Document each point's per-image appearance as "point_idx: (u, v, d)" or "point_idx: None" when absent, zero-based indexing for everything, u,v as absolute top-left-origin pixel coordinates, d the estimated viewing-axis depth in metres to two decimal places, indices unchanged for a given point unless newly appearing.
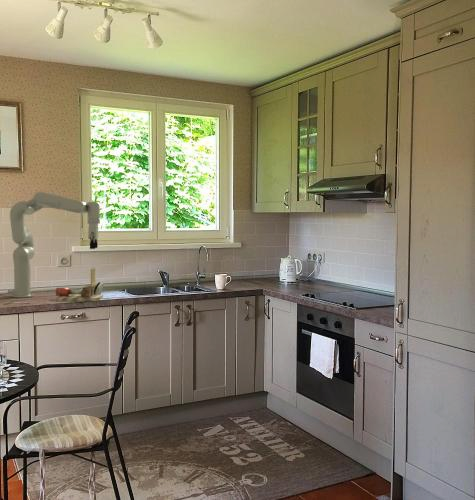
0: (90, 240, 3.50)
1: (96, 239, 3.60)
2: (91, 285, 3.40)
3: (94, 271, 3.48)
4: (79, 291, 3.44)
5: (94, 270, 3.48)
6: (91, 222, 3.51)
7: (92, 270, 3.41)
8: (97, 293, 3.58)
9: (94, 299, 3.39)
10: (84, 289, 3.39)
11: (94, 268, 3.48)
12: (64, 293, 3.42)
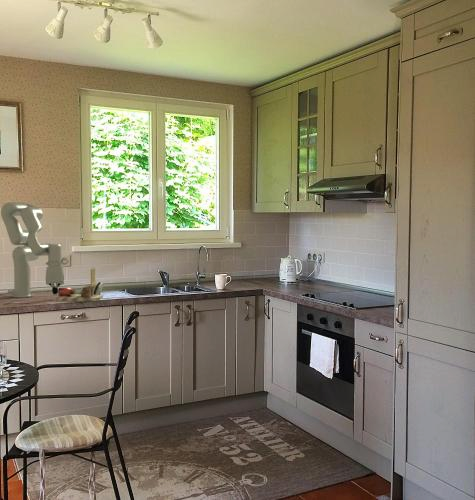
0: (57, 286, 3.43)
1: None
2: (91, 285, 3.40)
3: (94, 271, 3.48)
4: None
5: (94, 270, 3.48)
6: (60, 265, 3.43)
7: (92, 270, 3.41)
8: (98, 293, 3.59)
9: (94, 299, 3.39)
10: (84, 289, 3.39)
11: (94, 268, 3.48)
12: (66, 293, 3.42)
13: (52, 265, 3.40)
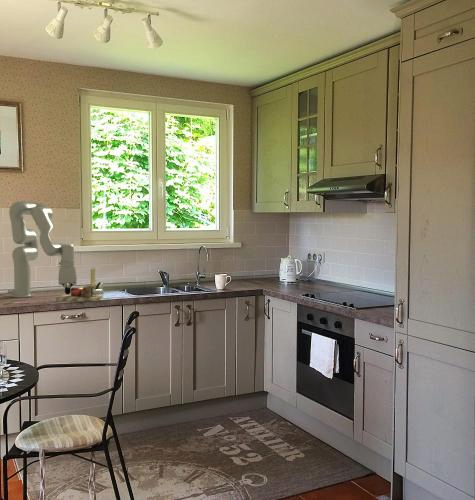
0: (70, 286, 3.44)
1: (66, 283, 3.46)
2: (91, 285, 3.40)
3: (94, 271, 3.48)
4: (94, 291, 3.44)
5: (94, 270, 3.48)
6: (73, 265, 3.43)
7: (92, 270, 3.41)
8: None
9: (94, 299, 3.39)
10: (84, 289, 3.39)
11: (94, 268, 3.48)
12: (79, 293, 3.43)
13: (65, 265, 3.40)
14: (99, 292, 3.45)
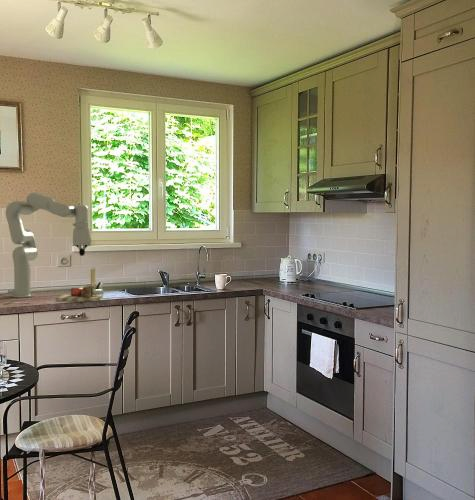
0: (84, 247, 3.43)
1: (80, 245, 3.45)
2: (91, 285, 3.40)
3: (94, 271, 3.48)
4: (94, 291, 3.44)
5: (94, 270, 3.48)
6: (87, 226, 3.42)
7: (92, 270, 3.41)
8: None
9: (94, 299, 3.39)
10: (84, 289, 3.39)
11: (94, 268, 3.48)
12: (79, 293, 3.43)
13: (79, 226, 3.39)
14: (99, 292, 3.45)
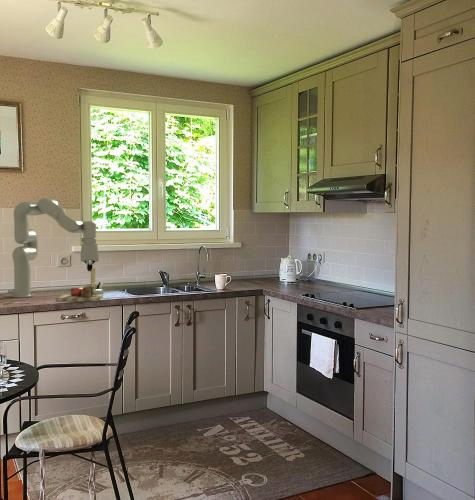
0: (92, 263, 3.44)
1: (88, 260, 3.46)
2: (91, 285, 3.40)
3: (94, 271, 3.48)
4: (94, 291, 3.44)
5: (94, 270, 3.48)
6: (95, 242, 3.43)
7: (92, 270, 3.41)
8: None
9: (94, 299, 3.39)
10: (84, 289, 3.39)
11: (94, 268, 3.48)
12: (79, 293, 3.43)
13: (87, 242, 3.40)
14: (99, 292, 3.45)
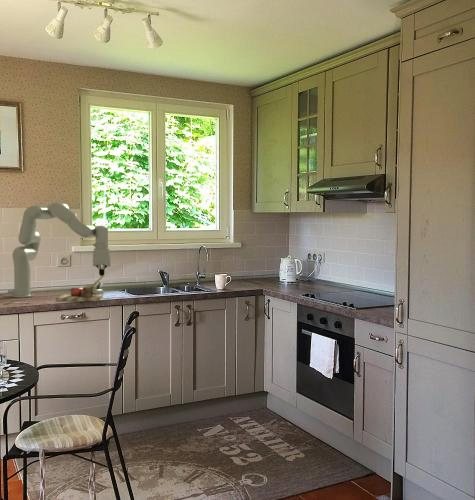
0: (104, 268, 3.44)
1: (100, 265, 3.46)
2: (92, 285, 3.41)
3: (104, 276, 3.48)
4: (94, 291, 3.44)
5: (105, 275, 3.48)
6: (107, 247, 3.44)
7: (104, 276, 3.42)
8: None
9: (94, 299, 3.39)
10: (84, 289, 3.39)
11: (106, 274, 3.48)
12: (79, 293, 3.43)
13: (99, 247, 3.41)
14: (99, 292, 3.45)
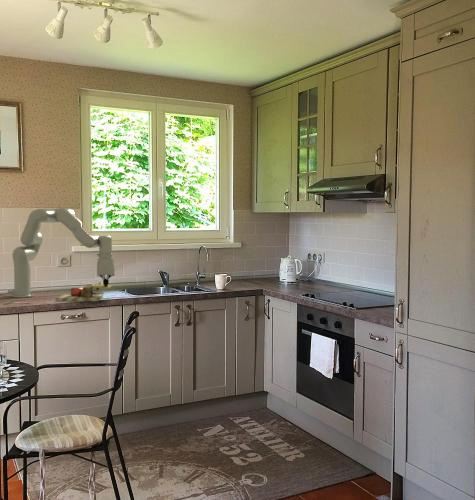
0: (108, 277, 3.45)
1: (104, 275, 3.47)
2: (92, 286, 3.41)
3: None
4: (94, 291, 3.44)
5: None
6: (111, 257, 3.44)
7: (107, 287, 3.42)
8: None
9: (94, 299, 3.39)
10: (84, 289, 3.39)
11: (110, 286, 3.49)
12: (79, 293, 3.43)
13: (103, 257, 3.41)
14: (99, 292, 3.45)
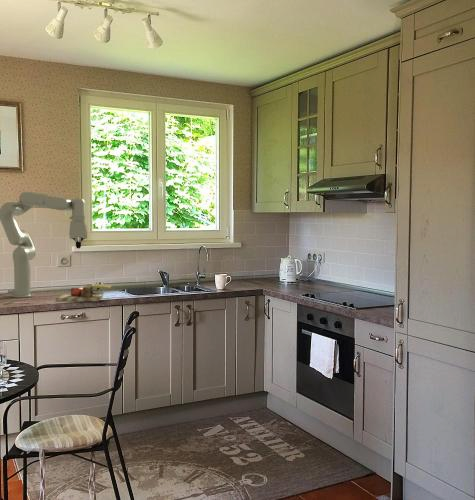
0: (81, 240, 3.49)
1: (77, 238, 3.51)
2: (92, 286, 3.41)
3: None
4: (94, 291, 3.44)
5: None
6: (84, 220, 3.49)
7: (107, 287, 3.42)
8: None
9: (94, 299, 3.39)
10: (84, 289, 3.39)
11: (110, 286, 3.49)
12: (79, 293, 3.43)
13: (76, 219, 3.46)
14: (99, 292, 3.45)
